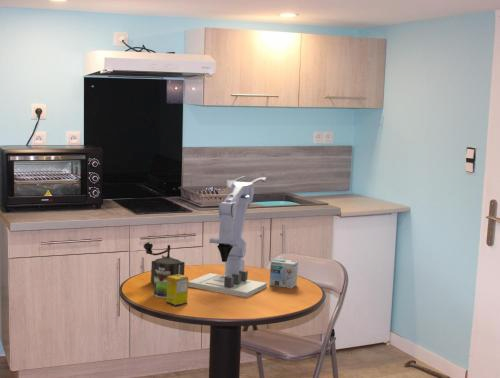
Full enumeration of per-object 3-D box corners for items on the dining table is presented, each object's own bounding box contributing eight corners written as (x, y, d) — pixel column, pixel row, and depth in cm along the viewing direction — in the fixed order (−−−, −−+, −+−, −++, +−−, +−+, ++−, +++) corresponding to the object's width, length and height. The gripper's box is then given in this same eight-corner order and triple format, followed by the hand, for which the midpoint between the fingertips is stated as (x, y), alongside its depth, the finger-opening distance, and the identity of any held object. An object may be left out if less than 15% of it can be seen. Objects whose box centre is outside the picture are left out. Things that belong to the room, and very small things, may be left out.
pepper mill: (166, 278, 315) (168, 237, 312) (184, 283, 308) (186, 242, 305) (140, 284, 303) (141, 242, 300) (158, 289, 296) (159, 246, 293)
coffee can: (172, 300, 281) (173, 264, 280) (148, 296, 285) (149, 261, 283) (183, 293, 291) (184, 259, 289) (160, 290, 294) (161, 256, 293)
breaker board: (209, 277, 320) (210, 272, 319) (266, 287, 307) (266, 282, 307) (187, 286, 303) (187, 281, 302) (246, 297, 290) (246, 292, 290)
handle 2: (241, 279, 310) (241, 270, 310) (247, 280, 309) (247, 271, 309) (238, 280, 308) (239, 271, 308) (244, 281, 307) (245, 272, 307)
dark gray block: (234, 282, 305) (234, 272, 304) (240, 283, 303) (241, 274, 303) (231, 283, 302) (232, 274, 302) (237, 284, 301) (238, 275, 301)
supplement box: (178, 300, 281) (179, 273, 279) (187, 304, 276) (188, 276, 275) (165, 303, 277) (166, 275, 275) (175, 307, 272) (176, 279, 271)
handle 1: (226, 285, 299) (227, 275, 298) (233, 286, 298) (233, 277, 297) (224, 286, 297) (224, 277, 296) (230, 287, 295) (231, 278, 295)
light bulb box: (268, 285, 312) (270, 260, 311) (274, 281, 318) (275, 258, 317) (292, 288, 308) (293, 264, 307) (297, 285, 314) (298, 261, 313)
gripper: (206, 229, 304) (205, 260, 306) (236, 233, 298) (235, 265, 300) (214, 227, 311) (213, 257, 312) (244, 231, 304) (242, 262, 306)
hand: (224, 261), depth 306 cm, fingers closed
